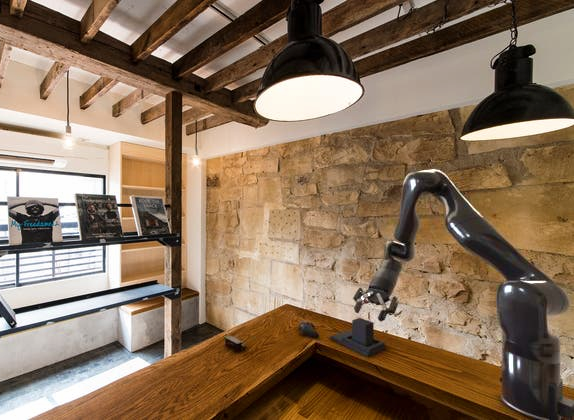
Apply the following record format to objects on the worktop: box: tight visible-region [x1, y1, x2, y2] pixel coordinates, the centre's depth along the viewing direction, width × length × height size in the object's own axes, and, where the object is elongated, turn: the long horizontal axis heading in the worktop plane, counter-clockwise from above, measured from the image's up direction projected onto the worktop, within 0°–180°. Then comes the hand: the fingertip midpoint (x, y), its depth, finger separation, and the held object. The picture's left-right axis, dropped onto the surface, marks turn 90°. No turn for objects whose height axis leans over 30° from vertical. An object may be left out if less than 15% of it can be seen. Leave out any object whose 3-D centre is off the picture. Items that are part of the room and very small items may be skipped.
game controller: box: [298, 321, 320, 339], centre depth 108 cm, size 10×5×6 cm
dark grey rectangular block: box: [351, 317, 375, 347], centre depth 97 cm, size 5×5×8 cm
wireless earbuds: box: [224, 334, 248, 353], centre depth 95 cm, size 5×7×3 cm, turn 41°
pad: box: [330, 329, 387, 358], centre depth 99 cm, size 14×12×2 cm
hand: (367, 316), depth 98 cm, fingers open, 8 cm apart
